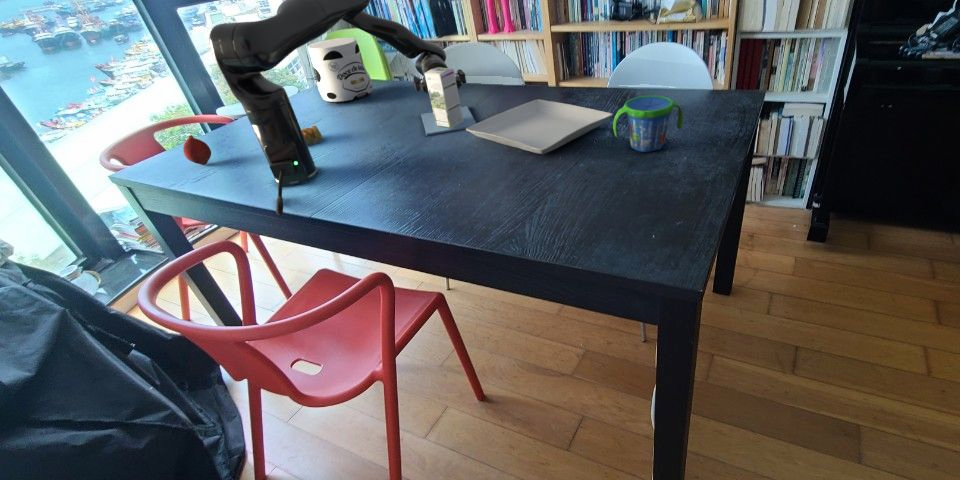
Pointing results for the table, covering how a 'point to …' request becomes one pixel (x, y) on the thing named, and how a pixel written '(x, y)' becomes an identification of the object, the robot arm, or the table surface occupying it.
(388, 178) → the table surface
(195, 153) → the onion
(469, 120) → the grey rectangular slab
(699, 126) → the table surface
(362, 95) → the doce de leite tin
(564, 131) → the square plate
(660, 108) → the snack cup
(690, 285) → the table surface
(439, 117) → the syrup box
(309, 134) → the pastry
